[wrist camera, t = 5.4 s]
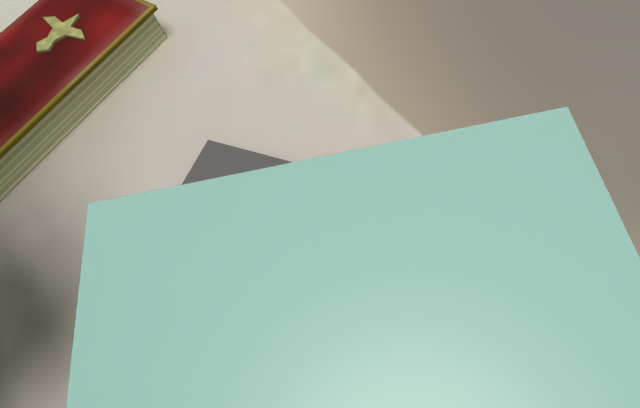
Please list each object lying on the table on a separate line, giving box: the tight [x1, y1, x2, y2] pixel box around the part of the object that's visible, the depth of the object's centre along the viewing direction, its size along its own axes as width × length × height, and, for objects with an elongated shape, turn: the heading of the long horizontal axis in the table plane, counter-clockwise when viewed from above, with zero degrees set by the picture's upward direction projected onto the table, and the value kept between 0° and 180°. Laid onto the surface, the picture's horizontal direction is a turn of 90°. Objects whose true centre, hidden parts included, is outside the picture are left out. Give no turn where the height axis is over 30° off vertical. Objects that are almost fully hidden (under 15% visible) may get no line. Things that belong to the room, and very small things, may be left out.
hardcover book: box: [0, 0, 167, 201], centre depth 45 cm, size 12×21×4 cm, turn 144°
